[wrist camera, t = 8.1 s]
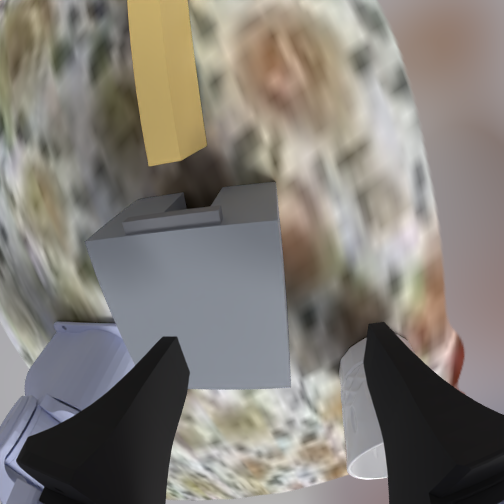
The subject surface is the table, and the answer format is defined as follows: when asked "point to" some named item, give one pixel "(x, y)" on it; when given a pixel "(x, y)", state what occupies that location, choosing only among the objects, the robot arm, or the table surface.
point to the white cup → (361, 417)
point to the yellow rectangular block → (166, 79)
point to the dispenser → (201, 284)
